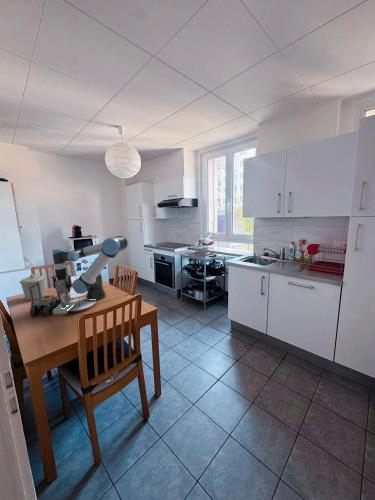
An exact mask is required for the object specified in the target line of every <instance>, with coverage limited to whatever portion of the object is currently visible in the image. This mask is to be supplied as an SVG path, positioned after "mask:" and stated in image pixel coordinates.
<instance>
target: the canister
mask: <svg viewBox="0 0 375 500" xmlns="http://www.w3.org/2000/svg"><path fill="white" fill-rule="evenodd" d="M45 279H46V277H45V276H43V275H35V274H30V275H29V276H28V277H25V278H23V279H21V280H20V281H19V284H20V285H21V288H22V291H23V295H24V297H25V299H26V300H28V301H31V299H30V293H29V287H30V286H32V285H34V284H36V283H39V286H40V292H41V298H42V297H43V296H46V295H45V294H46V280H45ZM31 290H32V296H33V301H36V300H37V299H39V294H38V288H37V285H36V286H34V287H32V288H31Z"/></svg>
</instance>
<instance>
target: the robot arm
mask: <svg viewBox="0 0 375 500" xmlns="http://www.w3.org/2000/svg"><path fill="white" fill-rule="evenodd" d="M128 244H129V243H128V239H127V238H126V237H125V236H123V235H116V236H113V237H112V236H111V237H108V238H106V239H104V241H103V242H100V243H97V244H93V245H90V246H89V245H88V246H86V247H81V248H77V249H75V250H70V251H65V250H64V248H54V249H52V259H53V265H54V266H53V267H54V273H55V274H54V275H52V276H51V278H52V283H53V285H52V286H53V289H56V288H55V282H56V281H58V280H65V279H66V287H67V289H66V291H67V296H69V295H70V296H71V288H72V289H73V290H74V292H75V293H76V294H79V295H83V294H85V293H86V300H87V299H96V301H99V300H103V299H105V298H106V296H107V294H106V291H105V289H104V286H103V277H102V276H103V275H102V271H103V270H104V268H105V267H106V266H107V265H108V263H109V262H110V261H111V260H112V259H114V258H115V257H117V255H118V254H119V253H120V252H123V251H124V250H126V249H127V248H128ZM93 255H97V257H96V258H95V260H94V261H93V262H92V263H91V265H90V266H88V268H87V270H86V271H85V272H82V273H81V275H80V276H78V278H77V279H74V281H72V275H71V274H68V273H67V267H66V262H71V263H72V262H77V261H78V260H80V259H82V258H85V257H86V258H87V257H90V256H93ZM66 277H67V278H68V281H67V278H66Z"/></svg>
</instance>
